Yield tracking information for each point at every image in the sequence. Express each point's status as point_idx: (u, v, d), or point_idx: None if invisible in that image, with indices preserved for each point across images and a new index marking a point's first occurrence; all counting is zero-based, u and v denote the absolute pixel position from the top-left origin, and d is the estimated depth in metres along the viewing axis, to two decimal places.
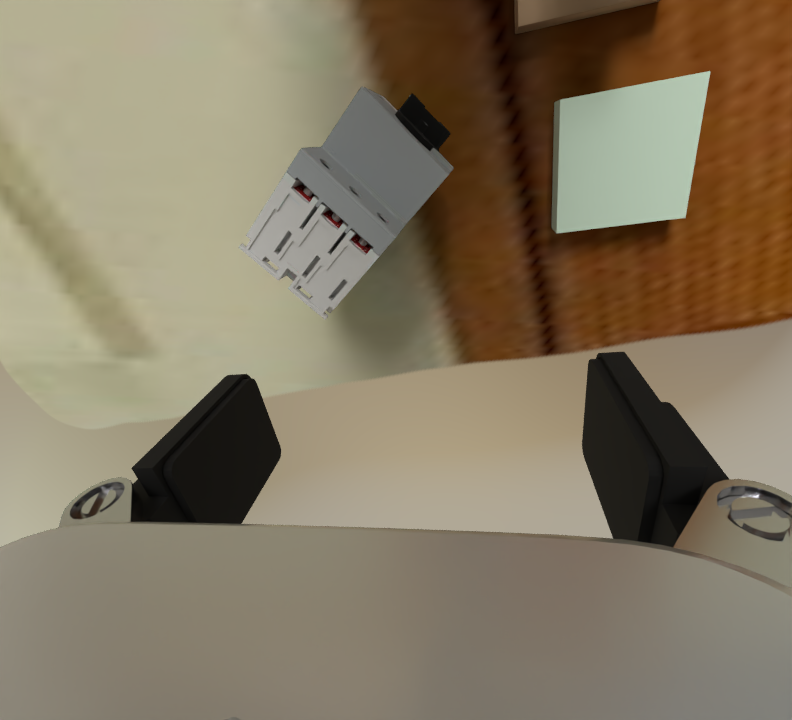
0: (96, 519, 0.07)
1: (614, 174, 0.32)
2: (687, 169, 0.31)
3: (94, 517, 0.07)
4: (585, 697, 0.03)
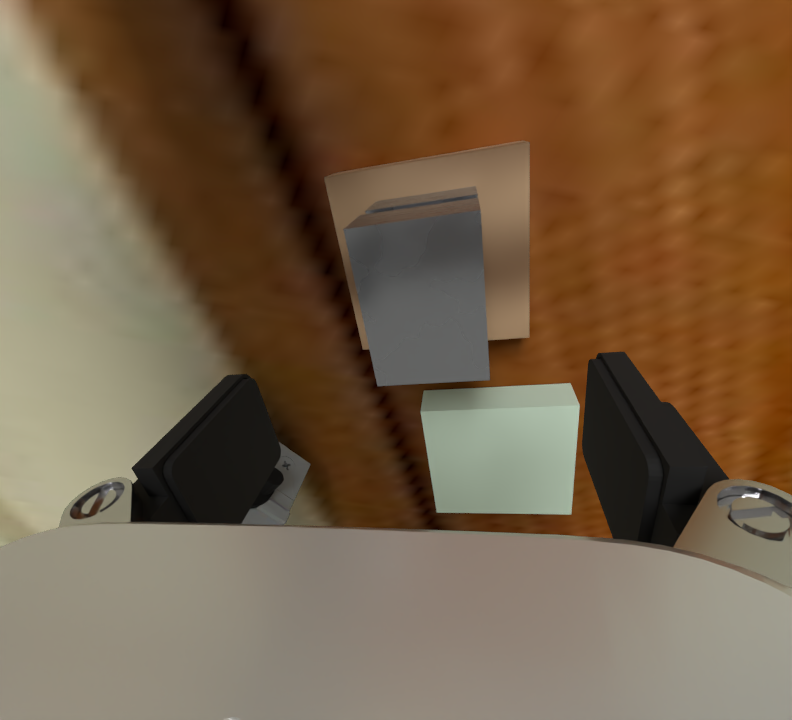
0: (96, 519, 0.07)
1: (490, 474, 0.29)
2: (567, 478, 0.28)
3: (94, 517, 0.07)
4: (585, 697, 0.03)
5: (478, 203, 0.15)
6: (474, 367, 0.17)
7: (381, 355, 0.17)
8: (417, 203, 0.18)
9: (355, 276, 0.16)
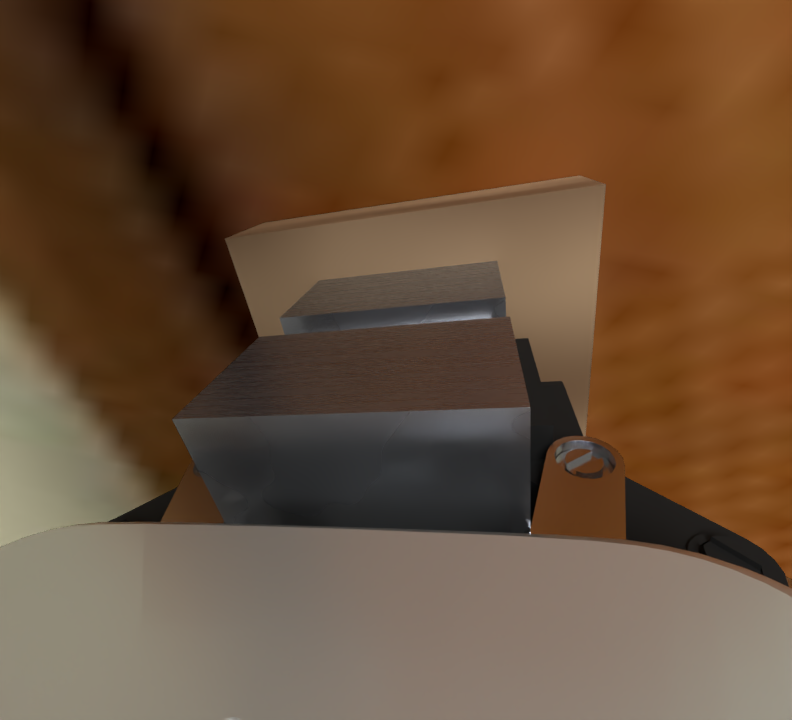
0: None
1: None
2: None
3: None
4: (585, 697, 0.03)
5: (515, 353, 0.06)
6: None
7: None
8: (381, 308, 0.09)
9: (220, 507, 0.07)
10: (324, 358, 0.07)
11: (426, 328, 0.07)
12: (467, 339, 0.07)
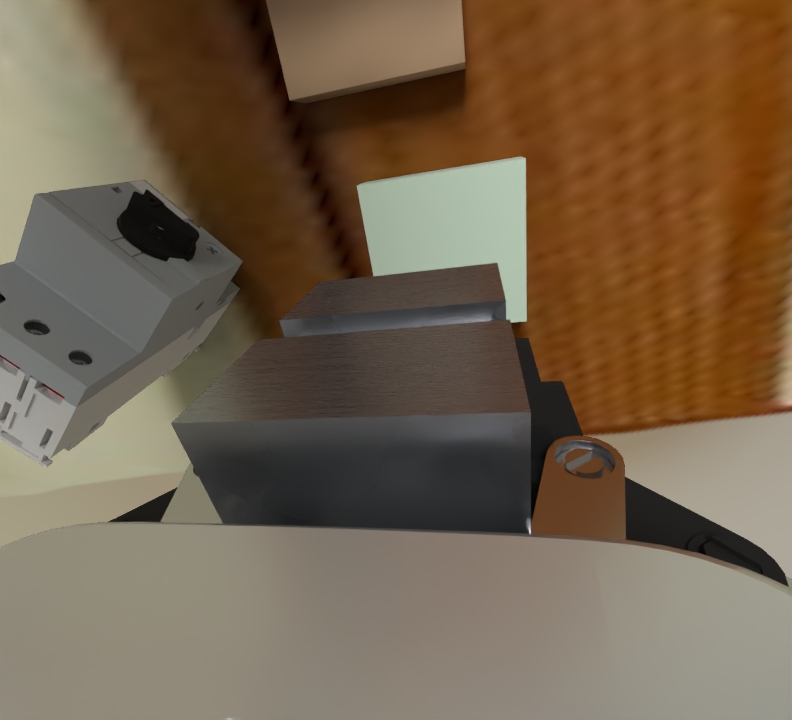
0: None
1: None
2: (519, 268, 0.25)
3: None
4: (585, 697, 0.03)
5: (516, 357, 0.06)
6: None
7: None
8: (381, 311, 0.09)
9: (220, 511, 0.07)
10: (324, 361, 0.07)
11: (426, 331, 0.07)
12: (467, 342, 0.07)
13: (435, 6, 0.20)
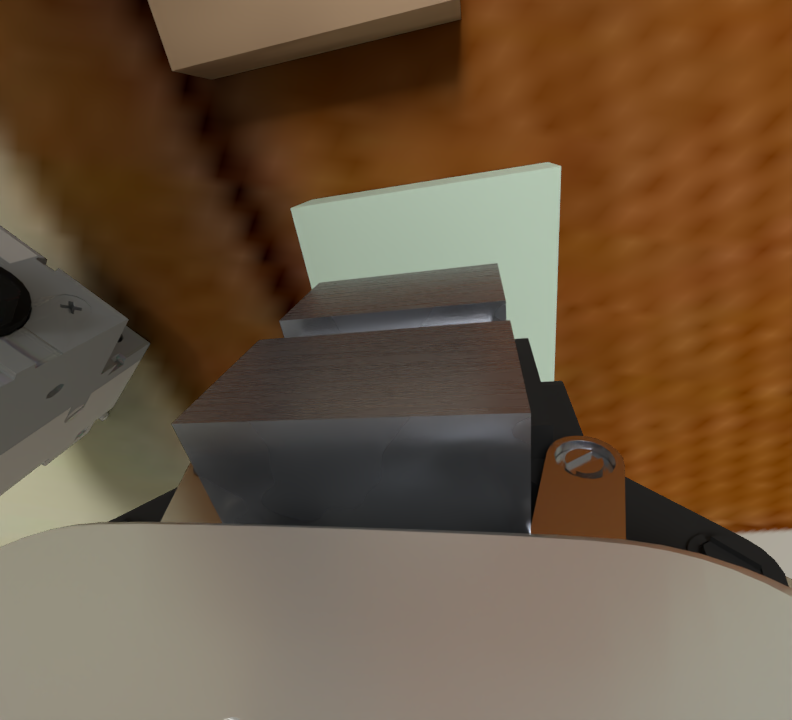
0: None
1: None
2: (544, 334, 0.16)
3: None
4: (585, 697, 0.03)
5: (516, 357, 0.06)
6: None
7: None
8: (381, 311, 0.09)
9: (220, 512, 0.07)
10: (324, 362, 0.07)
11: (426, 332, 0.07)
12: (467, 343, 0.07)
13: None
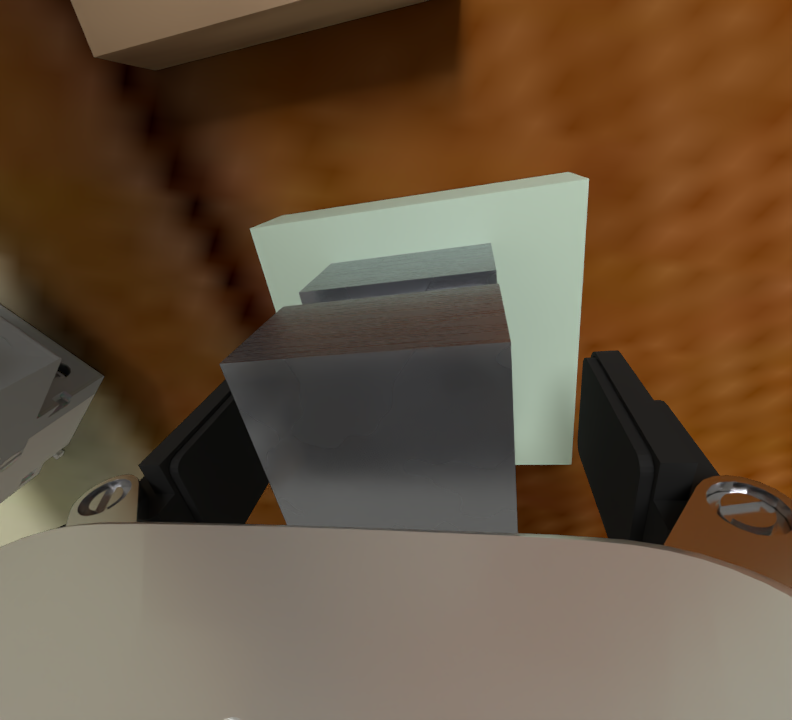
0: (103, 516, 0.07)
1: None
2: (563, 382, 0.13)
3: (101, 514, 0.07)
4: (585, 697, 0.03)
5: (502, 308, 0.07)
6: None
7: None
8: (388, 282, 0.10)
9: (256, 443, 0.08)
10: (341, 318, 0.08)
11: (427, 294, 0.09)
12: (462, 300, 0.08)
13: None
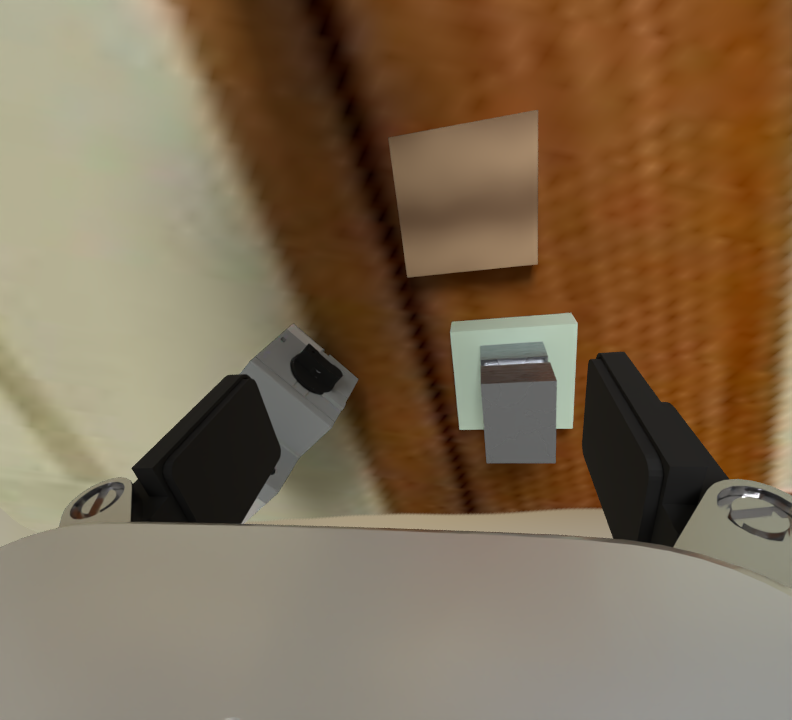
0: (96, 519, 0.07)
1: None
2: (569, 392, 0.34)
3: (94, 517, 0.07)
4: (585, 697, 0.03)
5: (552, 371, 0.28)
6: (546, 455, 0.29)
7: (491, 446, 0.30)
8: (512, 358, 0.31)
9: (483, 406, 0.28)
10: (506, 371, 0.29)
11: (529, 364, 0.29)
12: (540, 367, 0.28)
13: (519, 231, 0.29)
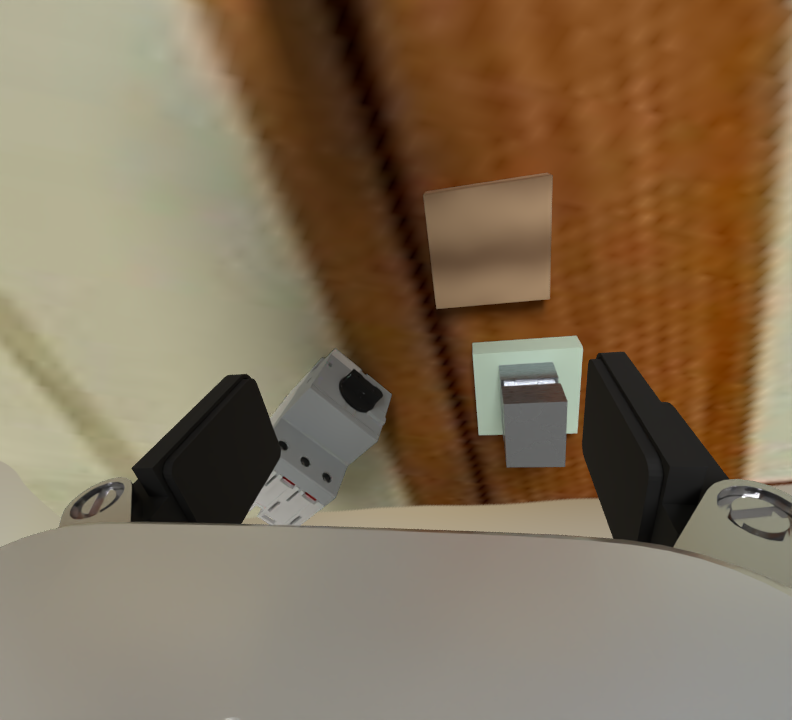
0: (96, 519, 0.07)
1: None
2: (574, 404, 0.40)
3: (94, 517, 0.07)
4: (585, 697, 0.03)
5: (563, 392, 0.33)
6: (557, 460, 0.35)
7: (511, 454, 0.36)
8: (527, 378, 0.36)
9: (505, 421, 0.34)
10: (524, 392, 0.34)
11: (543, 385, 0.35)
12: (553, 388, 0.34)
13: (534, 272, 0.34)
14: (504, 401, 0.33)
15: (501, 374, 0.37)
